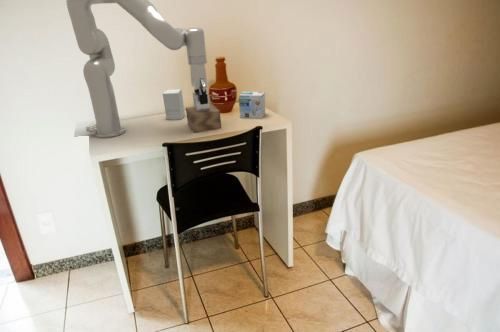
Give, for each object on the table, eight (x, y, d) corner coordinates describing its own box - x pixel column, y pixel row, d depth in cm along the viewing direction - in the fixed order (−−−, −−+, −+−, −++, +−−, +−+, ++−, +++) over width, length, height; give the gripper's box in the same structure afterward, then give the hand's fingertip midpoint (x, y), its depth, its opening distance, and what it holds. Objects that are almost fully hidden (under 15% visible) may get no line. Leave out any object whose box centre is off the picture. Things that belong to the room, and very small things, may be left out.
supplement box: (185, 114, 191) (182, 88, 186) (181, 119, 184) (178, 92, 179) (170, 115, 192) (166, 89, 186) (166, 120, 185) (162, 93, 180)
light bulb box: (239, 117, 182) (238, 94, 178) (244, 113, 188) (242, 91, 183) (262, 118, 179) (261, 95, 175) (265, 114, 185) (265, 91, 180)
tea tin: (197, 111, 167) (195, 95, 164) (194, 108, 172) (192, 92, 169) (210, 109, 168) (208, 93, 165) (207, 106, 173) (205, 90, 170)
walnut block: (193, 133, 166) (191, 114, 163) (187, 125, 177) (185, 107, 173) (221, 128, 170) (219, 110, 167) (213, 121, 180) (212, 104, 177)
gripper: (184, 58, 168) (188, 97, 175) (192, 64, 153) (197, 107, 160) (201, 56, 170) (205, 95, 177) (211, 62, 155) (215, 104, 162)
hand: (201, 101), depth 168 cm, fingers open, 9 cm apart
